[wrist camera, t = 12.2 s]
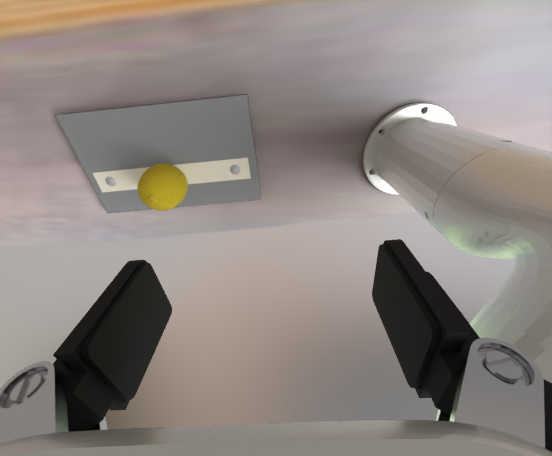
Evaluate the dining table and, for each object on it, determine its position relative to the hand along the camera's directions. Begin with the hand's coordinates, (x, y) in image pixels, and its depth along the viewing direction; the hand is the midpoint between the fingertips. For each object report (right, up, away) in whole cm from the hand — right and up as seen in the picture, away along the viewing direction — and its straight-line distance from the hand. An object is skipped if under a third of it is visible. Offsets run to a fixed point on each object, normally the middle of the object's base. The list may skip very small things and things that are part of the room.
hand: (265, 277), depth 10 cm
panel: (-15, +12, +25) cm, 31 cm away
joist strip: (-14, +10, +25) cm, 30 cm away
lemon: (-14, +10, +25) cm, 30 cm away
